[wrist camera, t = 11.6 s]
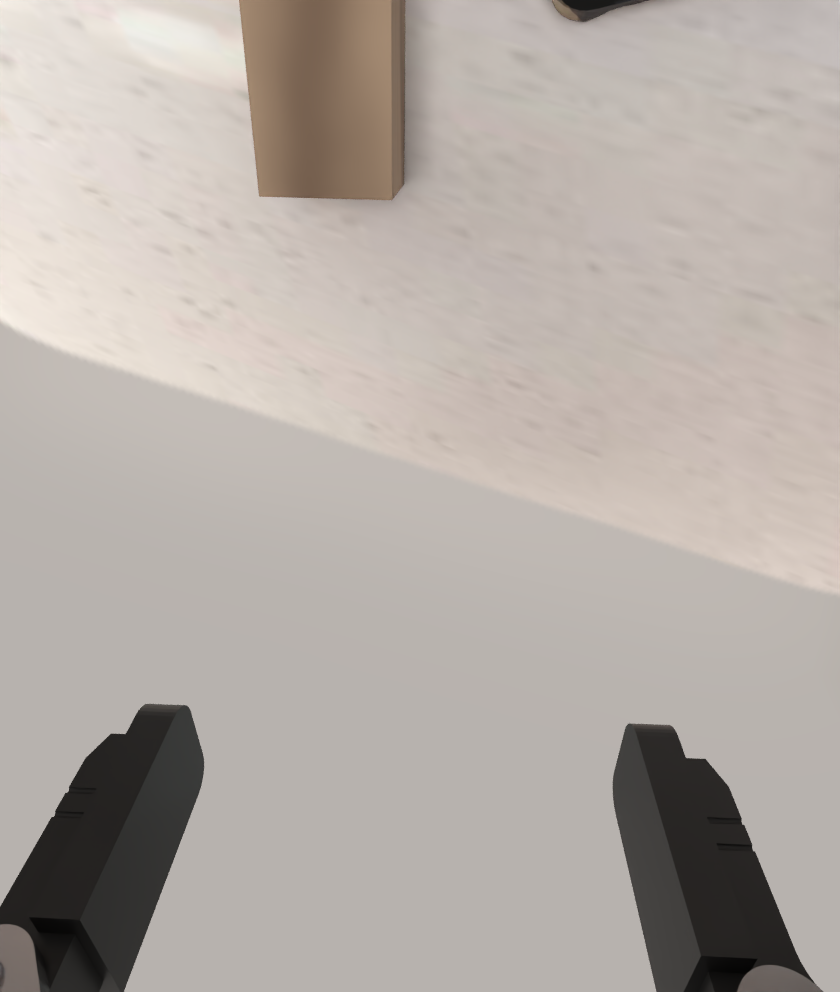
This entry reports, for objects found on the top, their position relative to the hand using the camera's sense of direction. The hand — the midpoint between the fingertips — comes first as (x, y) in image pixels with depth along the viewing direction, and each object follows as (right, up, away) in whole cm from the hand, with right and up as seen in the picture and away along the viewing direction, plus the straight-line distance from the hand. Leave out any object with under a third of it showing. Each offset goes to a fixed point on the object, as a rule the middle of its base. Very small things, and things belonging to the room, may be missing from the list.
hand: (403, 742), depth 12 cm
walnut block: (-3, +28, +20) cm, 35 cm away
